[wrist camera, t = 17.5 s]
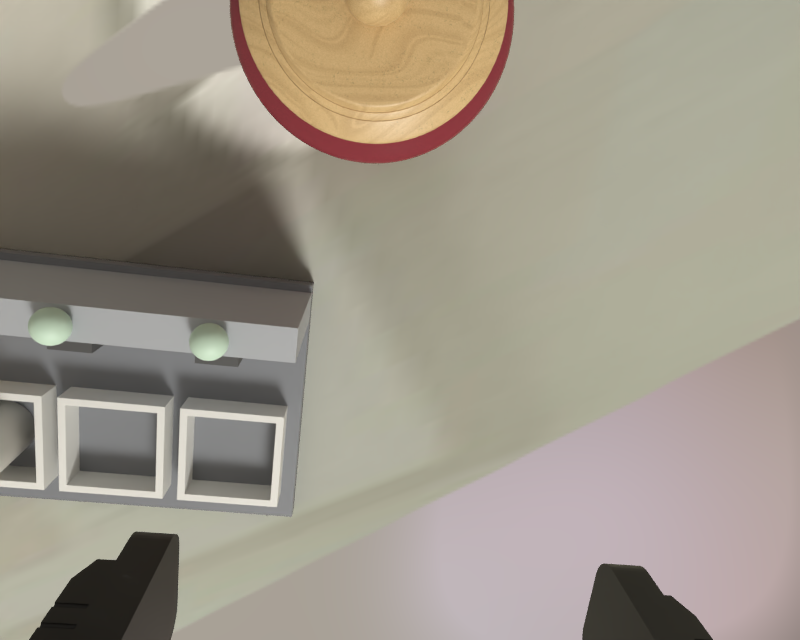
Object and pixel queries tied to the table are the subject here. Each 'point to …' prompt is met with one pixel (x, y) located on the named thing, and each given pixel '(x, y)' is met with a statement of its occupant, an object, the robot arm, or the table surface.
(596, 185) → the table surface
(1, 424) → the plug
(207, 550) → the table surface
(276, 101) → the canister
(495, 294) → the table surface
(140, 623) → the robot arm
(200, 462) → the breaker board
